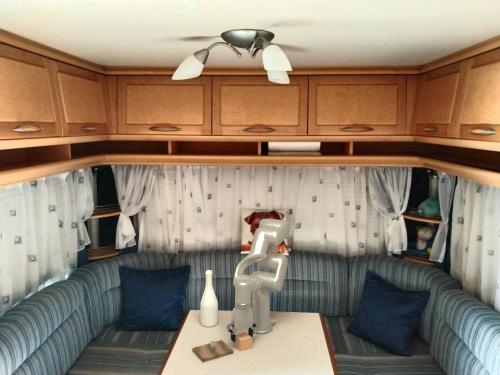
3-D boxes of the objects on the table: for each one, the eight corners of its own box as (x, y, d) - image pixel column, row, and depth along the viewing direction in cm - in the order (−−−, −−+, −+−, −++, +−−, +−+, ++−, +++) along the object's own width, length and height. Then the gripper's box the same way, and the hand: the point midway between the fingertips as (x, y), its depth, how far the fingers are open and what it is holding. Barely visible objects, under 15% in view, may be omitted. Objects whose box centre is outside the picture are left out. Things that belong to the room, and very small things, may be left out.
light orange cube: (245, 342, 223) (245, 332, 222) (251, 348, 218) (251, 337, 217) (234, 345, 220) (234, 335, 219) (240, 351, 215) (240, 340, 214)
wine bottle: (217, 327, 239) (217, 274, 234) (199, 327, 239) (198, 273, 234) (218, 320, 248) (218, 268, 244) (201, 319, 248) (201, 267, 244)
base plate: (221, 342, 223) (221, 333, 222) (233, 353, 213) (233, 343, 212) (192, 351, 215) (192, 341, 214) (203, 362, 204) (202, 352, 204)
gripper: (253, 299, 223) (252, 332, 225) (223, 305, 214) (222, 340, 216) (262, 304, 217) (261, 338, 219) (230, 311, 208) (230, 346, 209)
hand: (241, 339), depth 217 cm, fingers open, 9 cm apart
